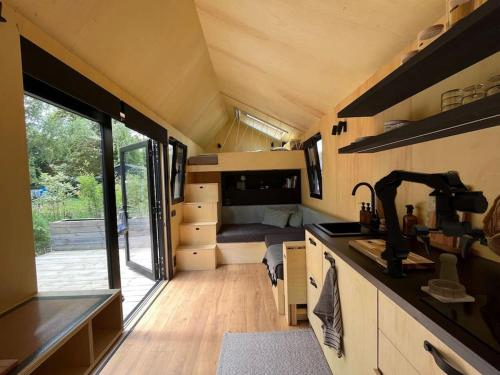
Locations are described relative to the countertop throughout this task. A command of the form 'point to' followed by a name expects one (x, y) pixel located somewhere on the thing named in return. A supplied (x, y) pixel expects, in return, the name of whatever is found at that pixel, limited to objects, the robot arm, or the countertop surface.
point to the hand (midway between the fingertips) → (446, 256)
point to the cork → (448, 267)
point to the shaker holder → (447, 291)
